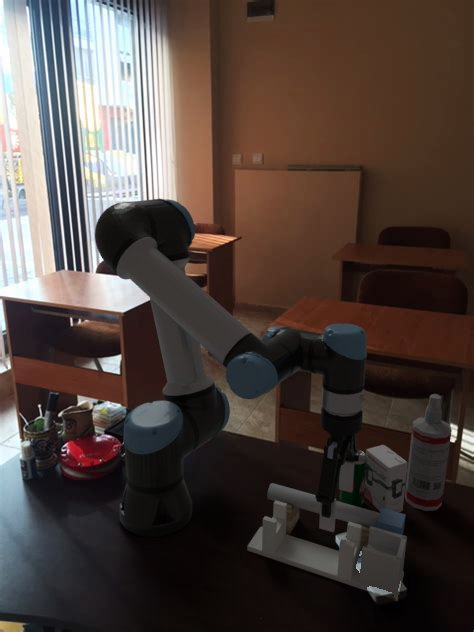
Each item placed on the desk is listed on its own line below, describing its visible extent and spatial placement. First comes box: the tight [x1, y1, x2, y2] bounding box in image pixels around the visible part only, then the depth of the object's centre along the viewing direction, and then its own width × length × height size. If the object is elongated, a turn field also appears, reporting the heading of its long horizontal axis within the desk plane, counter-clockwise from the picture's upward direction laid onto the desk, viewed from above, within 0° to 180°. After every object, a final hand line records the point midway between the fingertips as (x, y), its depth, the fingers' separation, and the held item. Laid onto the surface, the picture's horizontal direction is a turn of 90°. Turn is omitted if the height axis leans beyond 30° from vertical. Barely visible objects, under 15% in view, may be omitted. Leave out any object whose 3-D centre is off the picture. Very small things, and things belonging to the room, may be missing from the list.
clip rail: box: [246, 500, 408, 602], centre depth 99 cm, size 28×7×8 cm, turn 64°
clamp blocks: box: [286, 504, 370, 551], centre depth 106 cm, size 19×6×6 cm, turn 64°
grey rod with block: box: [266, 482, 407, 535], centre depth 105 cm, size 26×4×3 cm, turn 64°
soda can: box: [339, 448, 367, 508], centre depth 116 cm, size 5×5×12 cm
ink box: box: [364, 444, 408, 513], centre depth 116 cm, size 8×5×12 cm, turn 23°
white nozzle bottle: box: [404, 393, 453, 512], centre depth 115 cm, size 8×8×25 cm
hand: (336, 508), depth 104 cm, fingers open, 13 cm apart
